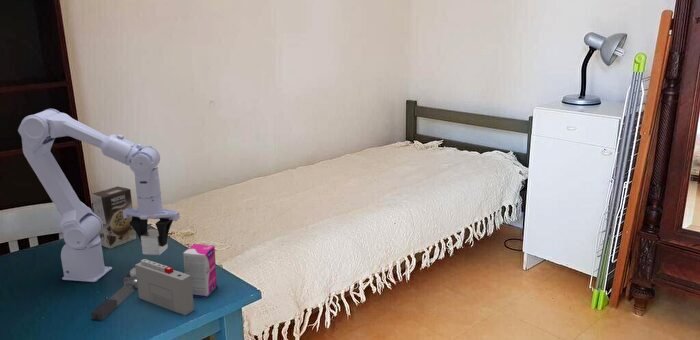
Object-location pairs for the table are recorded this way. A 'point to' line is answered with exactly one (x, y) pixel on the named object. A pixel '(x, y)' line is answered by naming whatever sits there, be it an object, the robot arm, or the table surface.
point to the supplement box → (201, 269)
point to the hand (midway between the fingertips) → (154, 244)
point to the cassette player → (164, 286)
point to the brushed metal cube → (152, 243)
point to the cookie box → (114, 216)
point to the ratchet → (116, 297)
